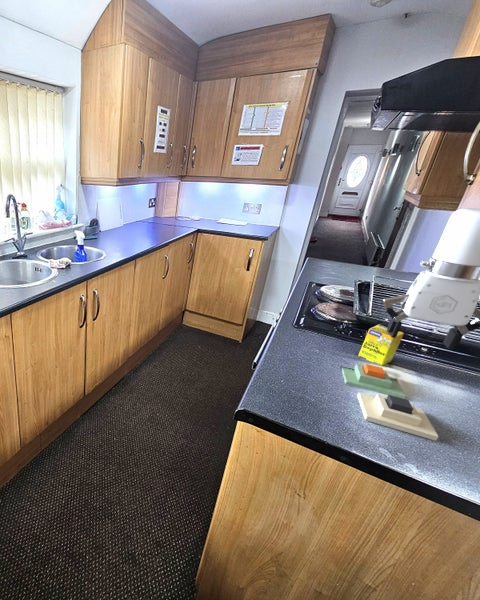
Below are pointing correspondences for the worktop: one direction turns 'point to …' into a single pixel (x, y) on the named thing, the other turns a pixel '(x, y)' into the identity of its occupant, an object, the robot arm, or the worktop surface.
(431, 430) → the cream flat stepped block
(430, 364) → the worktop surface
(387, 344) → the supplement box
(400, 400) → the key
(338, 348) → the worktop surface
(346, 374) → the green flat stepped block
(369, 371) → the key
